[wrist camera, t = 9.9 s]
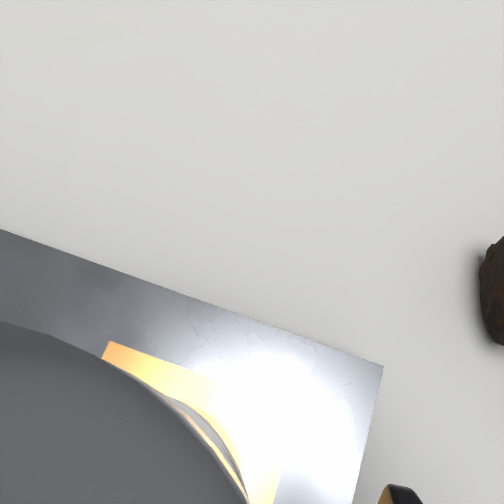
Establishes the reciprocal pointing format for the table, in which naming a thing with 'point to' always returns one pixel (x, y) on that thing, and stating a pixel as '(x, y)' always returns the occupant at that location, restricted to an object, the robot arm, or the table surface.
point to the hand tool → (493, 290)
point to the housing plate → (208, 368)
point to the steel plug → (102, 433)
